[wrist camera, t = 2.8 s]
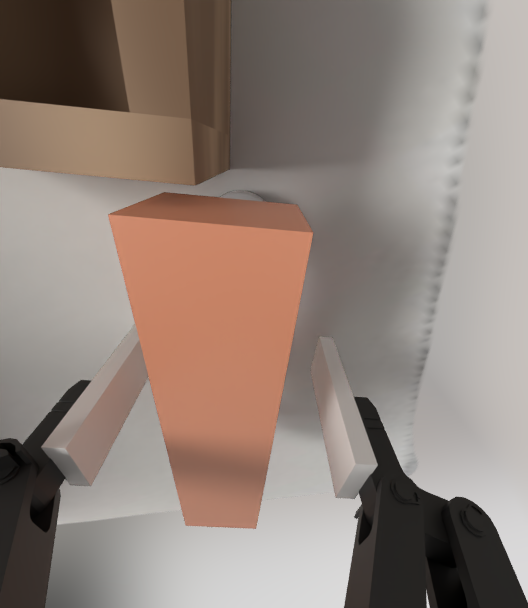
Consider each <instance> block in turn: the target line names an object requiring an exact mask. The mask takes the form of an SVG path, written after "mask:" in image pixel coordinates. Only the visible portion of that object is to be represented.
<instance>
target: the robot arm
mask: <svg viewBox="0 0 528 608" xmlns="http://www.w3.org/2000/svg"><path fill="white" fill-rule="evenodd" d="M310 371H311V376H312V381H313V386H314V391H315V396H316V401H317V406H318V411H319V416H320V421H321V426H322V431H323V436H324V441H325V446H326V451H327V456H328V461H329V466H330V471H331V476H332V481H333V486H334V491H335V496H336V498H350V499H355V498H356V496H357V495H358V493H359V495H360V498H361V501H362V505H361V506H360V507H359V509H358V510H357V511H356V514H355V516H354V517H355V518H356V519H357V518H358V517H359V518H358V525H357V531H356V537H355V544H354V549H353V556H352V562H351V568H350V574H349V581H348V587H347V593H346V600H345V606H344V608H427V606H426V590H427V595H428V600H429V605H430V608H528V602H527V600H526V598H525V595H524V593H523V590H522V588H521V586H520V584H519V581H518V579H517V576H516V574H515V572H514V570H513V567H512V565H511V563H510V560H509V558H508V555H507V553H506V551H505V548H504V546H503V544H502V542H501V539H500V537H499V534H498V532H497V529H496V528H495V526H494V524H493V522H492V521H491V519H490V518H489V516H488V515H487V514H486V513H485V512H484V511H483V510H482V509H481V508H480V507H479V506H478V505H476V504H475V503H474V502H472V501H470V500H468V499H466V498H463V497H455V498H453V499H451V500H450V501H448V500H445V499H443V498H440V497H438V496H435V495H433V494H430V493H428V492H426V491H424V490H422V489H420V488H419V487H417V486H416V484H415V483H414V482H413V481H412V480H411V479H410V478H409V477H407V476H406V475H405V473H404V472H403V470H402V468H401V466H400V464H399V462H398V459H397V457H396V455H395V452H394V450H393V448H392V445H391V443H390V440H389V438H388V436H387V433H386V431H385V430H384V426H383V424H382V422H381V421H380V417H379V415H378V412H377V410H376V408H375V406H374V405H373V404H372V403H371V402H370V400H369V399H368V398H365V397H354V396H353V393H352V391H351V388H350V385H349V382H348V379H347V377H346V374H345V371H344V368H343V365H342V362H341V360H340V357H339V354H338V351H337V348H336V346H335V343H334V340H333V337H321V336H319V340H318V343H317V347H316V351H315V354H314V358H313V362H312V366H311V369H310ZM148 377H149V376H148V372H147V368H146V364H145V360H144V356H143V352H142V348H141V344H140V340H139V336H138V332H137V328H136V324H135V325H134V326H133V327H132V329H131V330H130V331H129V333H128V334H127V335H126V337H125V338H124V339H123V340H122V342H121V343H120V344H119V346H118V347H117V348H116V350H115V351H114V352H113V354H112V355H111V356H110V357H109V359H108V360H107V361H106V363H105V364H104V365H103V367H102V368H101V369H100V371H99V372H98V373H97V375H96V376H95V377H94V378H93V380H92V381H88V380H81V381H79V382H78V383H76V384H75V385H74V386H72V387H71V388H70V389H68V391H67V392H66V393H65V394H64V395H63V397H62V398H61V399H60V400H59V403H57V404H56V405H55V406H54V407H53V409H52V411H51V412H49V413H48V415H47V416H46V417H45V418H44V419H43V421H42V422H41V423H40V424H39V425H38V427H37V428H36V429H35V430H34V431H33V433H32V434H31V435H30V436H29V437H28V439H27V440H26V441H25V442H24V443H23V445H22V444H21V443H20V442H19V441H18V440H17V439H11V438H8V439H3V440H0V608H45V603H46V595H47V589H48V581H49V575H50V568H51V560H52V553H53V546H54V539H55V532H56V525H57V518H58V511H59V504H60V497H61V495H60V489H59V487H60V486H61V484H62V483H63V481H64V479H66V480H67V481H68V483H69V484H70V485H77V486H91V485H92V483H93V481H94V479H95V477H96V475H97V474H98V472H99V470H100V468H101V466H102V464H103V462H104V460H105V458H106V456H107V455H108V453H109V451H110V449H111V447H112V445H113V443H114V441H115V439H116V437H117V436H118V434H119V432H120V430H121V428H122V426H123V424H124V422H125V420H126V418H127V417H128V415H129V413H130V411H131V409H132V407H133V405H134V403H135V401H136V399H137V397H138V396H139V394H140V392H141V390H142V388H143V386H144V384H145V382H146V380H147V378H148Z"/></svg>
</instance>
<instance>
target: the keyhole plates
mask: <svg viewBox="0 0 528 608" xmlns="http://www.w3.org/2000/svg"><path fill="white" fill-rule="evenodd" d="M230 67H231V0H0V167H4V168H15V169H25V170H36V171H46V172H57V173H68V174H78V175H89V176H99V177H110V178H121V179H131V180H142V181H153V182H163V183H174V184H184V185H197V184H199V183H202V182H204V181H206V180H208V179H210V178H212V177H214V176H216V175H218V174H221V173H223V172H225V171H227V170H229V169H230Z"/></svg>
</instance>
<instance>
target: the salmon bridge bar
mask: <svg viewBox="0 0 528 608" xmlns="http://www.w3.org/2000/svg"><path fill="white" fill-rule="evenodd" d="M108 216H109V220H110V224H111V228H112V232H113V236H114V240H115V244H116V248H117V252H118V256H119V260H120V264H121V268H122V272H123V276H124V280H125V284H126V288H127V292H128V296H129V300H130V304H131V308H132V312H133V316H134V320H135V324H136V328H137V332H138V336H139V340H140V344H141V348H142V352H143V356H144V360H145V364H146V368H147V372H148V376H149V380H150V384H151V388H152V392H153V396H154V400H155V404H156V408H157V412H158V416H159V420H160V424H161V428H162V432H163V436H164V440H165V444H166V448H167V452H168V456H169V460H170V464H171V468H172V472H173V476H174V480H175V484H176V488H177V492H178V496H179V500H180V504H181V508H182V512H183V516H184V520H185V524H186V525H187V526H207V527H230V528H253V529H256V526H257V521H258V516H259V511H260V505H261V500H262V495H263V490H264V485H265V480H266V474H267V469H268V464H269V459H270V454H271V449H272V443H273V438H274V433H275V428H276V423H277V418H278V412H279V407H280V402H281V397H282V392H283V387H284V381H285V376H286V371H287V366H288V361H289V356H290V350H291V345H292V340H293V335H294V330H295V325H296V319H297V314H298V309H299V304H300V299H301V294H302V288H303V283H304V278H305V273H306V268H307V263H308V257H309V252H310V247H311V242H312V237H313V231H312V230H311V228H310V226H309V224H308V223H307V221H306V219H305V217H304V216H303V214H302V212H301V210H300V209H299V207H298V205H295V204H284V203H274V202H265V201H264V200H263V199H262V198H261V197H259V196H258V195H256V194H254V193H252V192H248V191H243V190H237V191H231V192H228V193H226V194H224V195H222V196H220V197H209V196H198V195H188V194H177V193H166V192H164V193H161V194H159V195H156V196H154V197H151V198H149V199H146V200H144V201H141V202H138V203H136V204H133V205H131V206H128V207H126V208H123V209H121V210H118V211H116V212H113V213H111V214H108Z"/></svg>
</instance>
